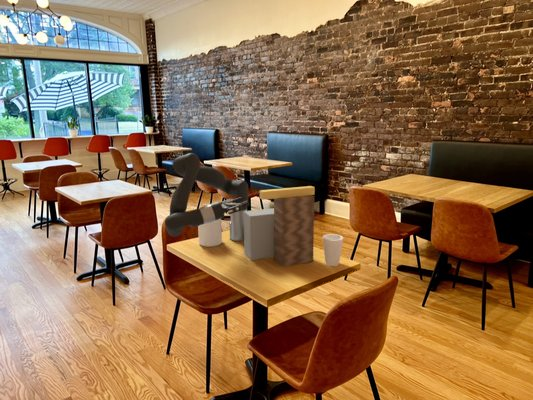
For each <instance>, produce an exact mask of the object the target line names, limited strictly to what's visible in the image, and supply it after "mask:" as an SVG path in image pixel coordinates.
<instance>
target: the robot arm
mask: <svg viewBox="0 0 533 400" xmlns="http://www.w3.org/2000/svg"><path fill="white" fill-rule="evenodd" d="M172 161H173V162H172V168H173V170H174V172H175V173H176V174H177V175H179V176H180V177H182V179H181V181H180V182H179V184H178V186H177V187H175V189H174V191H173V193H172V196H171V201H170V205H169V215H168V216H167V217H166V218H165V221H164V224H165V230H166V232H167V234H168V235H169V236H171V237H179V236H180V235H181V234H182V232H183V230H184V229H185V228H184V227H191V228H195V227H198V226H199V225H202V224H205V223H210V222H213V221H215V220H218V219H221V220H222V219H223V218H225V213H228V215H230V222H229V224H228V225H229V240H232V241H235V242H243V241H244V211H248V207H249V206H250V205H251V204H250V201H249V184H248V183H247V181H246V180H239V179H230V178H228V177H226V176H225V174H224V173H223V172H222V171H221V170H219V169H217V168H215V167H212V166H206V165H201V159H200V158H199V156H198V155H197V154H196V153H193V152H189V153H186V154H183V155H180V156H177V157H176V158H174V160H172ZM195 182H199V183H201V184H204V185H206V186H208V187H211V188H214V189H216V190H220V191H222V192H223V193H225V194H227V195H228V196H231V197H235V198H228V199H226V200H223V201H220V200H219V201H215V202H211V203H209V204H206V205H203V206H201V207H198V208H195V209H193V210H191V211H187V208H188V203H189V198H190V194H191V192H192V188H193V186H194V184H195Z"/></svg>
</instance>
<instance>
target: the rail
mask: <svg viewBox="0 0 533 400" xmlns="http://www.w3.org/2000/svg"><path fill="white" fill-rule="evenodd" d="M315 192H316V189H315V186H312V185H307V186H297V187H284V188H273V189H272V188H271V189H260V190H259V198H260V199H261V200H262V201H263V200H272V199H273V200H274V198H285V197H295V196H306V195H312V196H315V195H316V194H315Z"/></svg>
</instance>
